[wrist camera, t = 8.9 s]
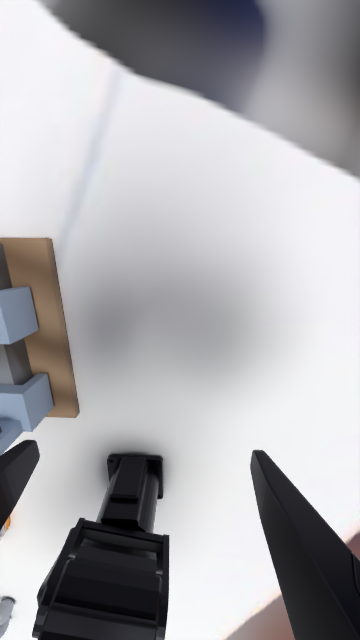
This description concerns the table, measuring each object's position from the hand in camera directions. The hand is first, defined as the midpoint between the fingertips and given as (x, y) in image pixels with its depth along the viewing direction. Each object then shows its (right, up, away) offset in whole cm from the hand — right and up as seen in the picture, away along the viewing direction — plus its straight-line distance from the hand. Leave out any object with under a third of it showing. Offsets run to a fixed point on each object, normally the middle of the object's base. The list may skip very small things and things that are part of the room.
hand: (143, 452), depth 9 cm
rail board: (-14, +4, +12) cm, 19 cm away
